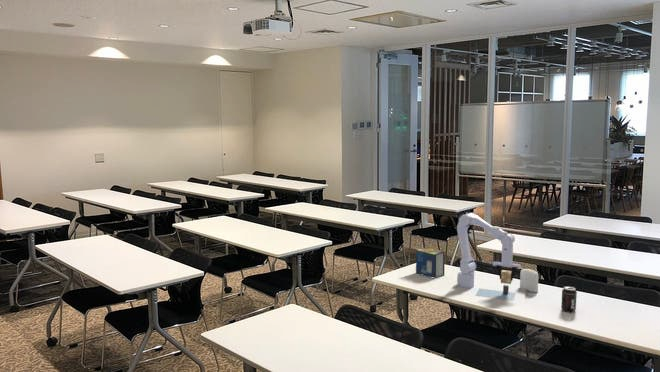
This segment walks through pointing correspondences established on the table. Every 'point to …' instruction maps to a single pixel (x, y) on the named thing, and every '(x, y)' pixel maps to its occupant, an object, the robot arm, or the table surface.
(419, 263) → the protein box
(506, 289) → the black metal post
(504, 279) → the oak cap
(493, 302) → the table surface
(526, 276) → the photo printer
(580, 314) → the table surface
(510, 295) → the light blue flat board
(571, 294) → the beverage can
